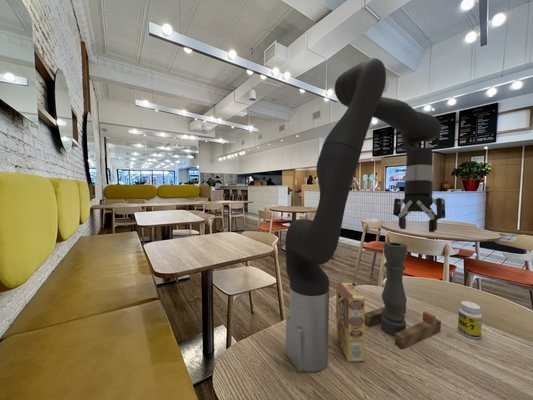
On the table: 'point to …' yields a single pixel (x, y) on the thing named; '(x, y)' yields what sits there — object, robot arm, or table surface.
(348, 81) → the robot arm
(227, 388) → the table surface
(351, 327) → the candy box
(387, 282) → the candle holder
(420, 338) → the guide rails
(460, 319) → the supplement bottle
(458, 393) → the table surface
